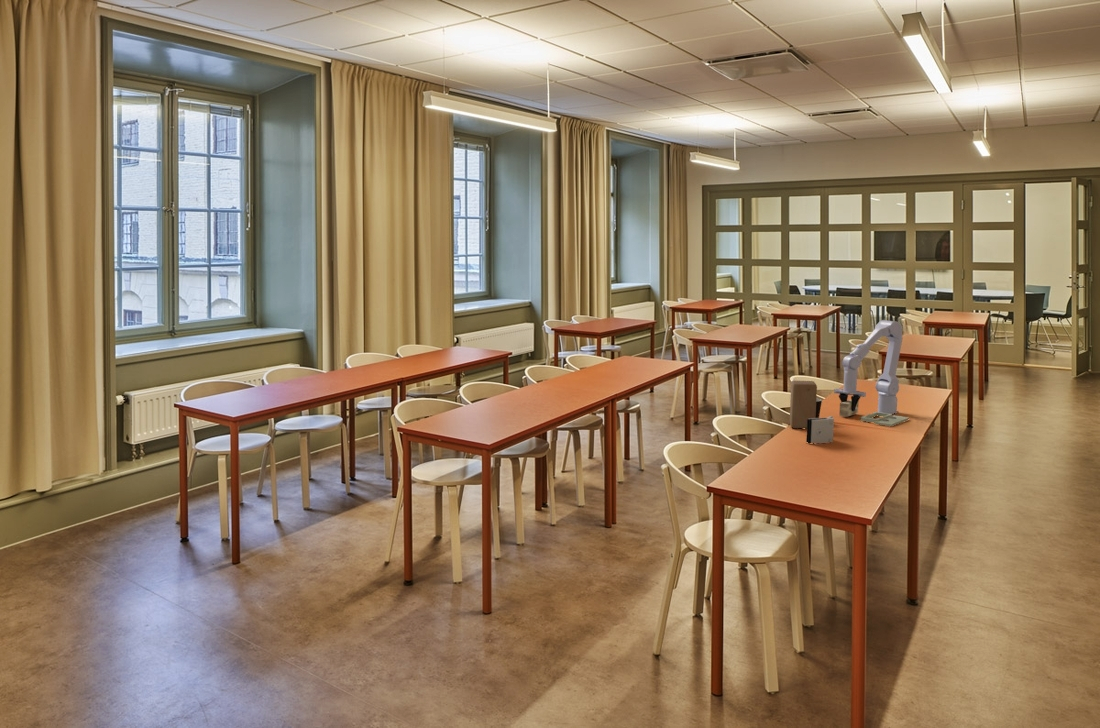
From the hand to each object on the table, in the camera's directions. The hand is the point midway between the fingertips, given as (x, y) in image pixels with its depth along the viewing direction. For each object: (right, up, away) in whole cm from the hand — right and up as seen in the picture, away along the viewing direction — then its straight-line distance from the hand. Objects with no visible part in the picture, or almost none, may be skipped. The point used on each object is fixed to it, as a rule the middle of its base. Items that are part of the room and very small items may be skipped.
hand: (848, 410), depth 383 cm
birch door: (0, -2, 0) cm, 2 cm away
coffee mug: (-21, -4, -10) cm, 24 cm away
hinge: (-30, -10, -50) cm, 59 cm away
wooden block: (-29, -6, -23) cm, 37 cm away
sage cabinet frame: (+12, -4, -12) cm, 17 cm away
